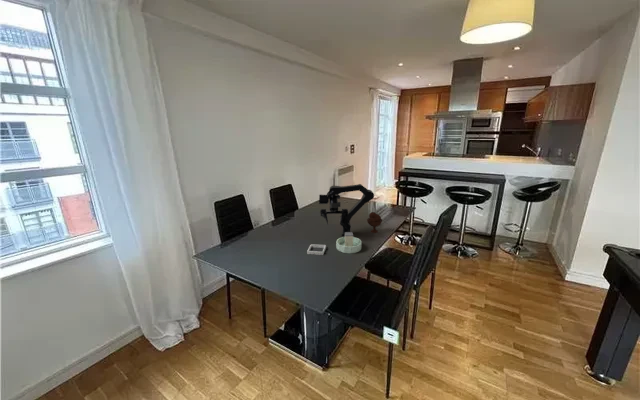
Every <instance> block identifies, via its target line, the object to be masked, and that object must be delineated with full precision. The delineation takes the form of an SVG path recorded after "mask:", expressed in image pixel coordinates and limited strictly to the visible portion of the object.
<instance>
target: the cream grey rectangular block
mask: <svg viewBox="0 0 640 400" xmlns="http://www.w3.org/2000/svg"><path fill="white" fill-rule="evenodd" d="M353 233H354V232H352V231H350V232H345V236H344V237H345V247H353V237H354V234H353Z"/></svg>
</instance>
